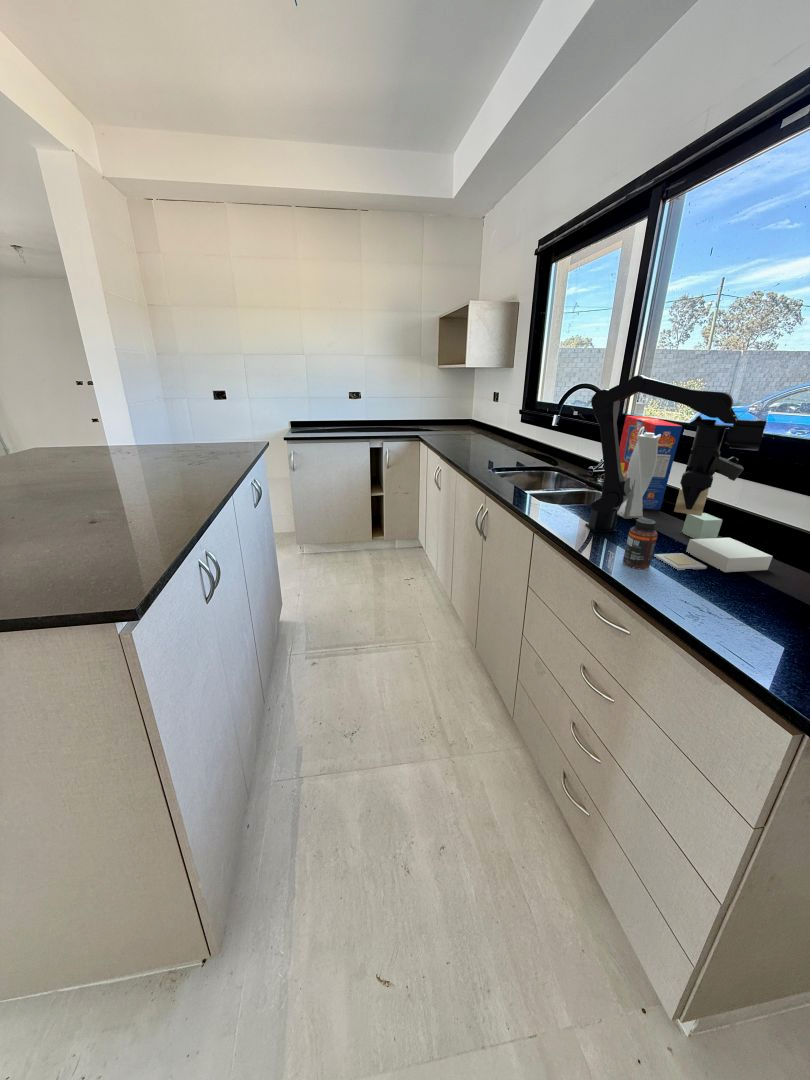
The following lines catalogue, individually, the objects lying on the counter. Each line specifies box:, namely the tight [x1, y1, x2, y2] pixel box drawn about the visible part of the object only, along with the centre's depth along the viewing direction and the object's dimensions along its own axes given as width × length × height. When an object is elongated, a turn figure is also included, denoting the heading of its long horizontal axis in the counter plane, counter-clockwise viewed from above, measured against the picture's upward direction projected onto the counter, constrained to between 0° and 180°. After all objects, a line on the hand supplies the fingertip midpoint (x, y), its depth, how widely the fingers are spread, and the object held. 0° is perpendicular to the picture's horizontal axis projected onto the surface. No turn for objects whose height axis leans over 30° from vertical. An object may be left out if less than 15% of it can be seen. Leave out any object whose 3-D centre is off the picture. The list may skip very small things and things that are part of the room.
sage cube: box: [681, 512, 723, 539], centre depth 122 cm, size 6×6×6 cm
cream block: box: [685, 537, 774, 573], centre depth 107 cm, size 12×12×4 cm
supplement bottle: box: [622, 517, 658, 570], centre depth 102 cm, size 6×6×11 cm
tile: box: [653, 552, 708, 571], centre depth 106 cm, size 8×8×1 cm
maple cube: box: [673, 484, 710, 516], centre depth 110 cm, size 6×6×6 cm
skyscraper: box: [617, 426, 661, 520], centre depth 135 cm, size 8×8×28 cm
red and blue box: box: [619, 415, 683, 511], centre depth 154 cm, size 28×8×28 cm, turn 172°
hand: (689, 506), depth 111 cm, fingers closed on maple cube, 6 cm apart
